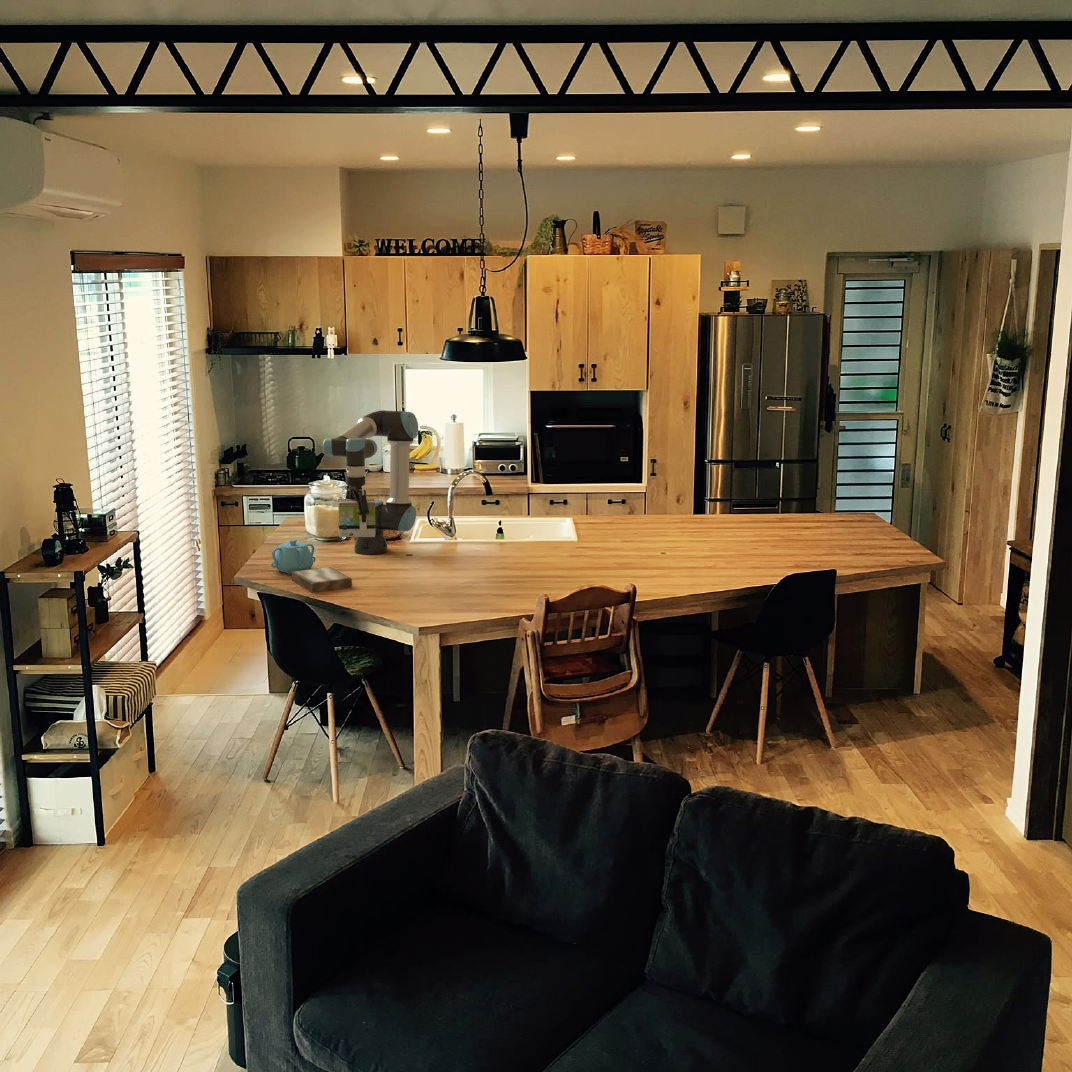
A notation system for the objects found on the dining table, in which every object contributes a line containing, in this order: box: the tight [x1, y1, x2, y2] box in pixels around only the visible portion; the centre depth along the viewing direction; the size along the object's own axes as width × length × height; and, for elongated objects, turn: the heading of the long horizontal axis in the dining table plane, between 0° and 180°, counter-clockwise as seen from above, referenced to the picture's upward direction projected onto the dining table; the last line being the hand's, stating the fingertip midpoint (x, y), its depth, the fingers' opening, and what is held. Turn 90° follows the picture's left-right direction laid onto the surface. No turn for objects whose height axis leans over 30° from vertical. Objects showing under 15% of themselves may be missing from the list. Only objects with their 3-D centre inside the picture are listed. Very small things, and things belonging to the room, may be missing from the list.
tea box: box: [337, 498, 375, 538], centre depth 473 cm, size 15×10×15 cm, turn 102°
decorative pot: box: [270, 539, 316, 575], centre depth 485 cm, size 16×16×14 cm
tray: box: [291, 566, 353, 594], centre depth 465 cm, size 17×22×4 cm
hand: (356, 527), depth 474 cm, fingers closed on tea box, 12 cm apart
